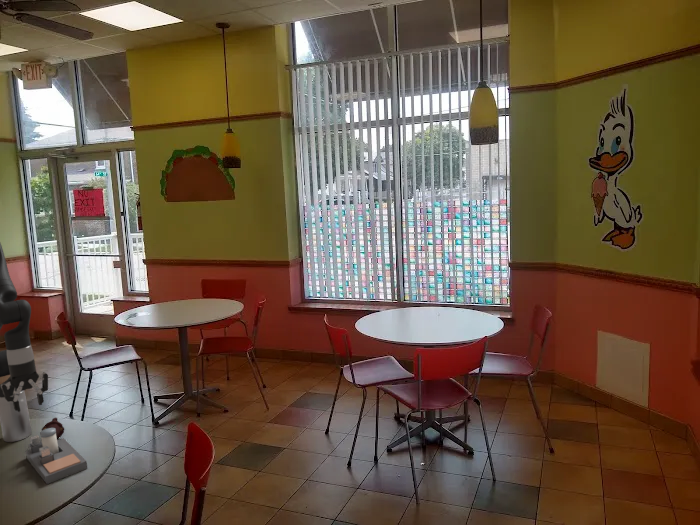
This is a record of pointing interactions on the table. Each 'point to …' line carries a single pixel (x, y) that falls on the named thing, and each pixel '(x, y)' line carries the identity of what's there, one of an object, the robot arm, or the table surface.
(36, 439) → the button back
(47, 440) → the cartridge
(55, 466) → the housing
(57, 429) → the icecream
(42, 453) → the button front
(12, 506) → the table surface
